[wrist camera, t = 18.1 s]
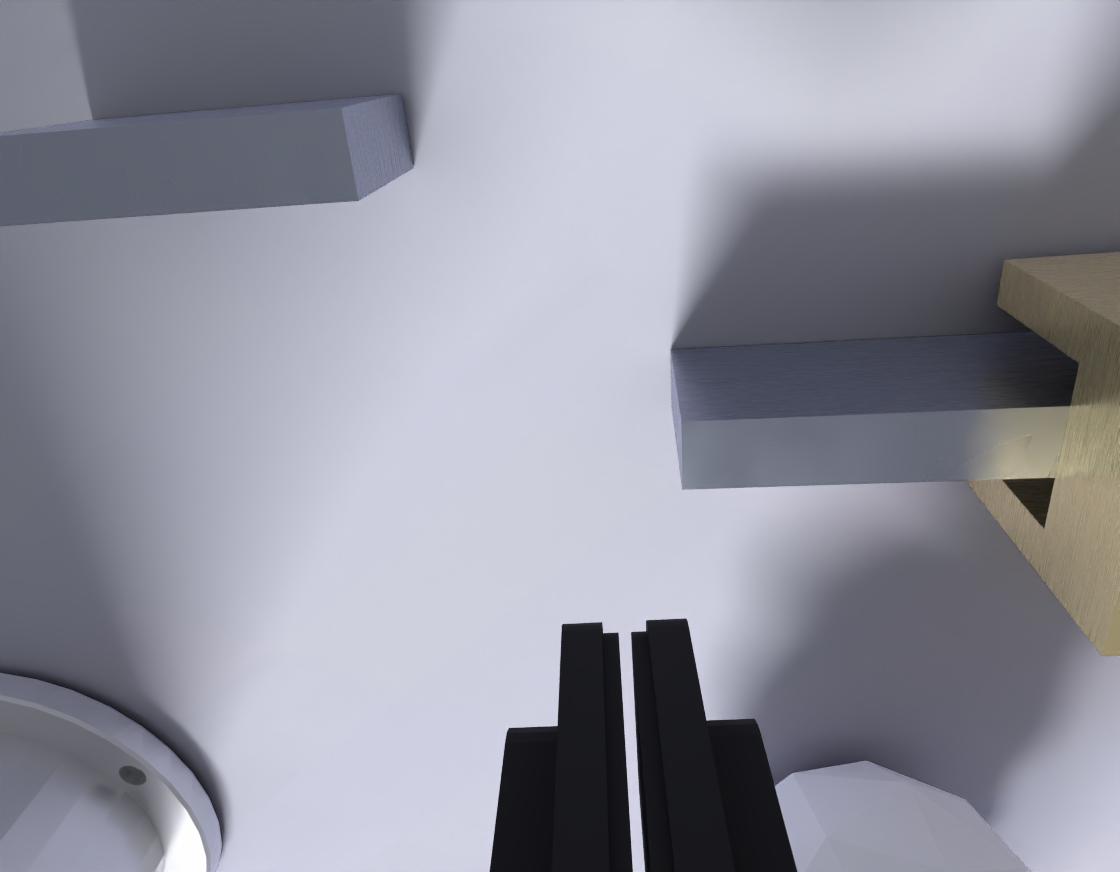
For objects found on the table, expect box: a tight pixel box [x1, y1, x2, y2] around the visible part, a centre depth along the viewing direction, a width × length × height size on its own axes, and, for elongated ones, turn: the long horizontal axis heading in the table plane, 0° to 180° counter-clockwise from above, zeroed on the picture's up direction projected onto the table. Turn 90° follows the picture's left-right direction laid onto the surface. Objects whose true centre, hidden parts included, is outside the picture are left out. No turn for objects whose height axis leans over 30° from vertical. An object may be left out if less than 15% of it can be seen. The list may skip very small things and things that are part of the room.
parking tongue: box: [0, 94, 414, 226], centre depth 16 cm, size 2×7×4 cm, turn 95°
